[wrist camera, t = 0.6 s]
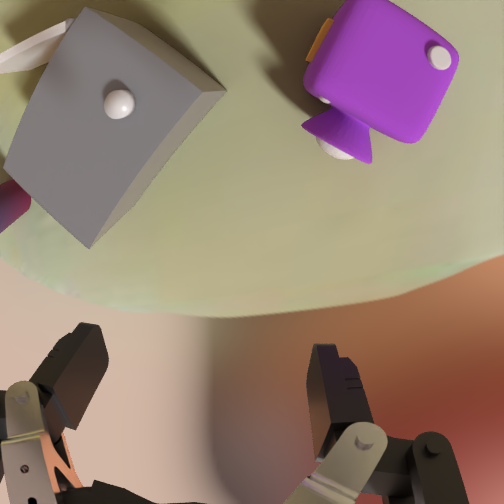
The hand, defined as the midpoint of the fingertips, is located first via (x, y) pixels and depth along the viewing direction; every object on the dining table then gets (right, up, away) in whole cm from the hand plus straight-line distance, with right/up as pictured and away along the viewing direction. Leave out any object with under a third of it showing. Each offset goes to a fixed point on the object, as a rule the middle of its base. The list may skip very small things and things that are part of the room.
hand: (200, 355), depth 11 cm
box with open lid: (-10, +17, +17) cm, 27 cm away
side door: (-17, +25, +12) cm, 33 cm away
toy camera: (+12, +19, +14) cm, 27 cm away
